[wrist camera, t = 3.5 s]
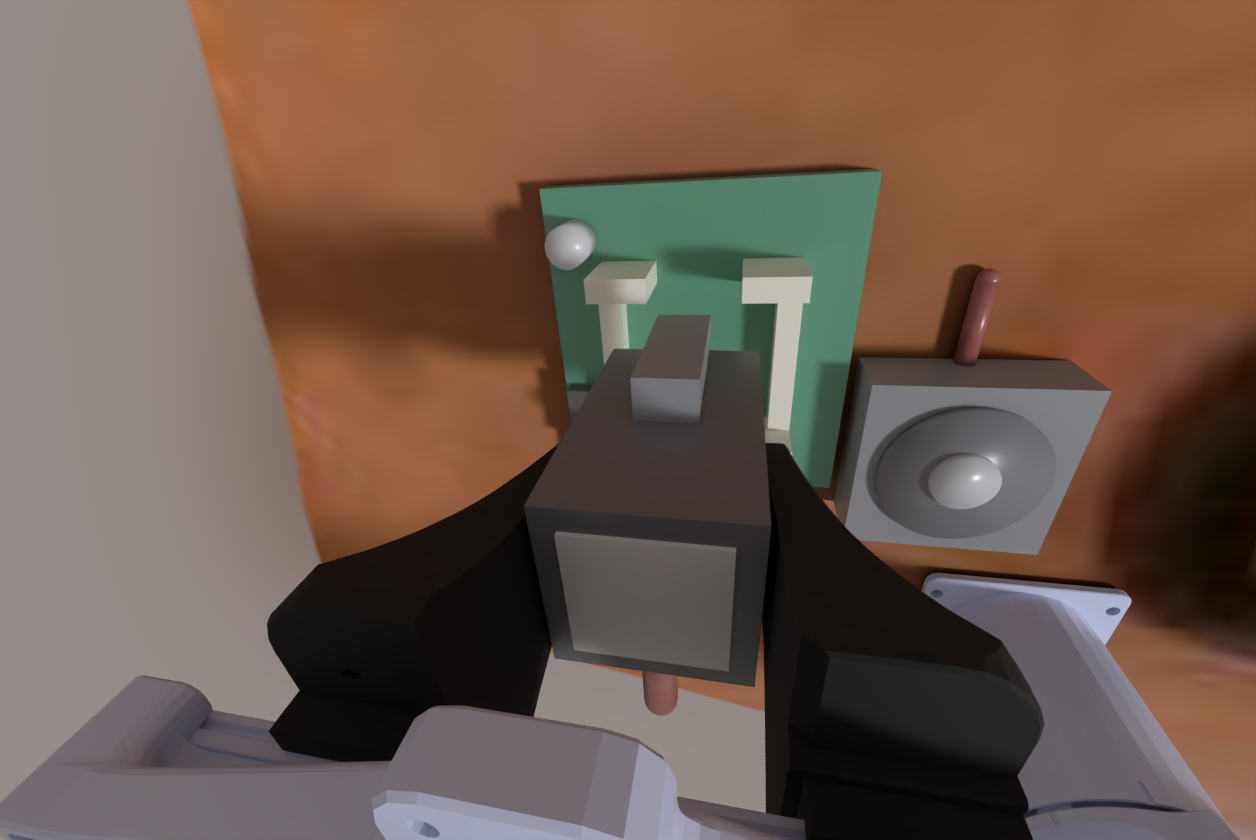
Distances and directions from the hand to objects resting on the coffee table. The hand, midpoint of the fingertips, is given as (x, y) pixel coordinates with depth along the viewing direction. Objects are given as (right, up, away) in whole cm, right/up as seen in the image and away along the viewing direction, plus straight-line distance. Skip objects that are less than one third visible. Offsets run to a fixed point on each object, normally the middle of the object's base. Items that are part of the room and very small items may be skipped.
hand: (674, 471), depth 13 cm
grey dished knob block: (+11, +2, +7) cm, 13 cm away
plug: (0, +2, +2) cm, 3 cm away
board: (+2, +4, +7) cm, 9 cm away
